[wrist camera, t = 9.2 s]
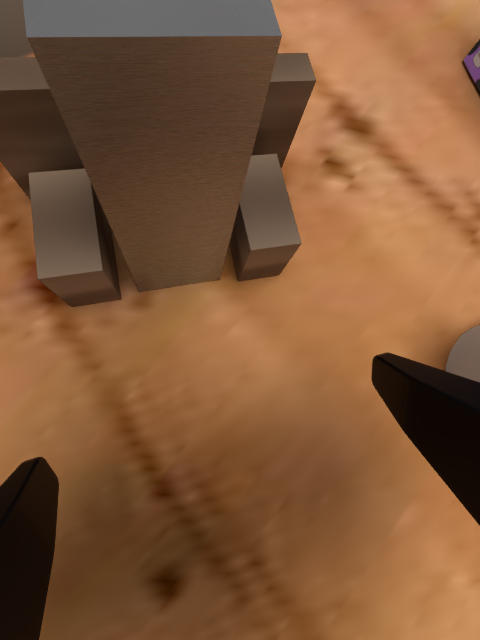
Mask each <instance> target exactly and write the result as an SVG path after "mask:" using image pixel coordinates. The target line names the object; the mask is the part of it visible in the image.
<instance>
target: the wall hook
mask: <svg viewBox="0 0 480 640" xmlns="http://www.w3.org/2000/svg"><path fill="white" fill-rule="evenodd" d="M446 371H447V372H450V373H453V374H456V375H459V376H462V377H465V378H468V379H471V380H474V381H477V382H480V325H477V326H475V327H473V328H471V329H469V330H467V331H466V332H465V333H464V334H462V335H461V336H460V338H459V339H458V340H457V341H456V343H455V344H454V346H453V347H452V349H451V351H450V354H449V357H448V360H447V364H446Z"/></svg>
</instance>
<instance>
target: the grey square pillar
mask: <svg viewBox="0 0 480 640" xmlns="http://www.w3.org/2000/svg"><path fill="white" fill-rule="evenodd" d="M23 5H24V15H25V25H26V34H27V39H28V41H29V43H30V46H31V48H32V50H33V52H34V55H35V57H36V59H37V62H38V64H39V66H40V68H41V71H42V73H43V75H44V77H45V80H46V82H47V84H48V86H49V89H50V91H51V93H52V95H53V98H54V100H55V102H56V105H57V107H58V109H59V111H60V114H61V116H62V118H63V120H64V123H65V125H66V127H67V129H68V132H69V134H70V136H71V138H72V141H73V143H74V145H75V148H76V150H77V152H78V154H79V157H80V159H81V161H82V163H83V166H84V168H85V170H86V172H87V175H88V177H89V179H90V181H91V184H92V186H93V188H94V190H95V193H96V195H97V197H98V200H99V202H100V204H101V206H102V209H103V211H104V213H105V215H106V218H107V220H108V222H109V224H110V227H111V229H112V231H113V233H114V236H115V238H116V240H117V243H118V245H119V247H120V249H121V252H122V254H123V256H124V258H125V261H126V263H127V265H128V267H129V270H130V272H131V274H132V276H133V279H134V281H135V283H136V286H137V288H138V290H139V292H142V291H149V290H155V289H162V288H168V287H175V286H181V285H188V284H194V283H201V282H207V281H214V280H220V277H221V274H222V270H223V266H224V262H225V258H226V254H227V250H228V246H229V242H230V238H231V234H232V230H233V226H234V222H235V218H236V214H237V210H238V206H239V203H240V199H241V195H242V191H243V187H244V183H245V179H246V175H247V171H248V167H249V163H250V159H251V155H252V151H253V147H254V143H255V139H256V135H257V132H258V128H259V124H260V120H261V116H262V112H263V108H264V104H265V100H266V96H267V92H268V88H269V84H270V80H271V76H272V72H273V68H274V65H275V61H276V57H277V53H278V49H279V45H280V41H281V37H282V35H281V32H280V29H279V25H278V22H277V19H276V16H275V12H274V9H273V6H272V3H271V0H23Z"/></svg>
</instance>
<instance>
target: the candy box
mask: <svg viewBox="0 0 480 640" xmlns="http://www.w3.org/2000/svg"><path fill="white" fill-rule="evenodd" d="M464 63H465V65H466V67H467V69H468V71H469V73H470V75H471V77H472V79H473V81H474V82H475V84H476V85H477V87H478V89H479V91H480V40H479V41H478V42H477V43H476V44H475V46H474V47H473V48H472V49H471V51H470V52H469V53H468V54H467V56H466V57H465V58H464Z"/></svg>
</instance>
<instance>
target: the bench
mask: <svg viewBox="0 0 480 640" xmlns="http://www.w3.org/2000/svg"><path fill="white" fill-rule="evenodd" d="M315 82H316V78H315V75H314V72H313V69H312V66H311V63H310V60H309V57H308V54H307V53H282V54H277V57H276V61H275V65H274V68H273V72H272V76H271V80H270V84H269V88H268V92H267V96H266V100H265V104H264V108H263V112H262V116H261V120H260V124H259V128H258V132H257V135H256V139H255V143H254V147H253V151H252V155H251V159H250V163H249V167H248V171H247V175H246V179H245V183H244V187H243V191H242V195H241V199H240V203H239V206H238V210H237V214H236V218H235V222H234V226H233V230H232V234H231V238H230V242H229V243H230V247H231V251H232V256H233V260H234V265H235V269H236V274H237V278H238V281H243V280H250V279H256V278H263V277H269V276H276V275H280V273H281V272H282V270H283V269H284V267H285V266H286V265H287V263H288V262H289V260H290V259H291V258H292V256H293V255H294V253H295V252H296V251H297V249H298V248H299V246H300V245H301V240H300V236H299V232H298V229H297V225H296V222H295V218H294V214H293V211H292V207H291V204H290V200H289V196H288V193H287V189H286V185H285V182H284V178H283V175H282V171H281V168H282V166H283V163H284V161H285V158H286V156H287V153H288V150H289V148H290V145H291V143H292V140H293V138H294V135H295V133H296V130H297V128H298V125H299V123H300V120H301V118H302V115H303V113H304V110H305V107H306V105H307V102H308V100H309V97H310V95H311V92H312V90H313V87H314V85H315ZM0 161H1V163H2V164H3V165H4V166H5V168H6V169H7V170H8V172H9V173H10V174H11V175H12V177H13V178H14V179H15V181H16V182H17V183H18V184H19V186H20V187H21V188H22V190H23V191H24V192H25V193H26V195H27V196H28V197H29V199H30V200H31V208H32V219H33V230H34V241H35V252H36V263H37V275H38V280H40V281H41V282H42V283H43V284H44V285H46V286H47V287H48V288H49V289H50V290H52V291H53V292H54V293H55V294H57V295H58V296H59V297H60V298H61V299H63V300H64V301H65V302H66V303H67V304H69V305H70V306H71V307H74V306H81V305H87V304H94V303H100V302H107V301H113V300H120V299H121V294H120V287H119V281H118V274H117V267H116V260H115V253H114V246H113V239H112V232H111V227H110V224H109V222H108V220H107V218H106V215H105V213H104V211H103V209H102V206H101V204H100V202H99V200H98V197H97V195H96V193H95V190H94V188H93V186H92V184H91V181H90V179H89V177H88V175H87V172H86V170H85V168H84V166H83V163H82V161H81V159H80V157H79V154H78V152H77V150H76V148H75V145H74V143H73V141H72V138H71V136H70V134H69V132H68V129H67V127H66V125H65V123H64V120H63V118H62V116H61V114H60V111H59V109H58V107H57V105H56V102H55V100H54V98H53V95H52V93H51V91H50V89H49V86H48V84H47V82H46V80H45V77H44V75H43V73H42V71H41V68H40V66H39V64H38V62H37V59H36V57H10V58H9V57H8V58H7V57H6V58H0Z"/></svg>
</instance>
